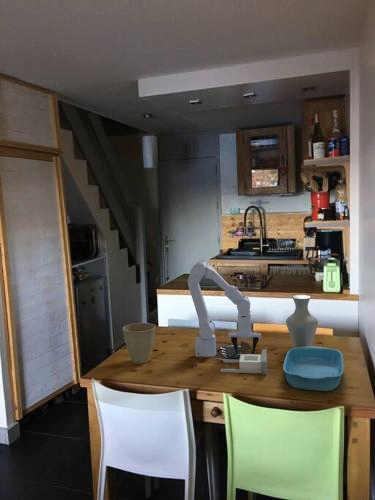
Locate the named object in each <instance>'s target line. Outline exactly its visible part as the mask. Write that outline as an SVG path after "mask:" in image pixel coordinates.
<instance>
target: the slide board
mask: <svg viewBox="0 0 375 500" xmlns="http://www.w3.org/2000/svg"><path fill="white" fill-rule="evenodd" d="M239 361H240V359H230V358H229V359H227V358H225V359H223V362H222V363H226V364H227V363H231V364H235V363H236V364H239ZM220 373H239V374H240V373H243V374H247V373H248V374H262V370H250V369H240V368H238V369H237V368H220Z"/></svg>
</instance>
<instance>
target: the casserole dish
mask: <svg viewBox="0 0 375 500" xmlns="http://www.w3.org/2000/svg"><path fill="white" fill-rule="evenodd" d="M344 366H345V365H344V355H343V353H342V352H341V351H340V350H338V349H334V348H328V347H324V346H314V345H313V346H312V345H311V346H306V347H292V348H289V350H288V351H287V353H286V355H285V358H284V361H283V365H282V369H283V372H284V375H285V379H286V381H287V383H288V384H289V385H290V386H291V387H293V388H295V389H300V390H307V391H309V390H310V391H318V392H330V391H334V389H336V388H337V387H339V385H340V383H341V379H342V377H343V373H344Z"/></svg>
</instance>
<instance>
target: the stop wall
mask: <svg viewBox="0 0 375 500" xmlns="http://www.w3.org/2000/svg"><path fill="white" fill-rule="evenodd" d="M267 353H268V350H267V349H266V348H264V349H261V355H262V359H261V368H262V373H261V375H262V376H266V375H268V373H267V372H268V354H267Z"/></svg>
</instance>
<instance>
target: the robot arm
mask: <svg viewBox="0 0 375 500" xmlns="http://www.w3.org/2000/svg"><path fill="white" fill-rule="evenodd" d="M189 272H190V273H189V276H188V279H187V285H188V289H189V292H190V296H191V300H192V302H193V304H194V308H195V312H196V315H197V318H198V327H199V331H198V332H199V333H198V334H199V336H197V337H195V342H194V345H195V346H194V349H195V350H194V351H195V357H203V358H204V357H205V358H210V357H215V356H216V355H217V344H216V343H217V341H216V340H217V339H216V336H217V335H216V334H215V333H214V332H215V330H216V325H215V323H214V322H213V320H212V318H211V316H210V315H209V312H208V309H207V306H206V302H205V299H204V296H203V293H202V292H203V291H202V289H201V285H200V282H201V280H202V279H203V277H204V278H205V279H210V280H212V281H213V282H215V283H216V284H217V286H219V287H220V288H221V289H222V290H224V296H226V297H227V298H228V299H229V300H230V301H231V303H233V304H234V305H235V306H236V309H237V311H238V312H237V313H238V314H237V326H238V327H237V329H238V330H237V331H238V332H229V333H228V339H230V341H231V344H232V345H233V347H234V350H235V354H236V355H239V354H238V353H239V349H238V346H239V345H238V339H252V354H255V351H256V347H257V345H258V343H259V339H260V340H261V339H262V333H259V332H252V325H251V324H252V318H251V300H250V299H249V297H248V296H246V295H245V294H243V293H242V292H241V291H240V290H239V287H237V286H235V285H231V284H229V283H228V282H227V281H226V280H225V279H224V278H223V276H221V275H220V274H219V273H218V272H217V270H216V269H215V268H214V267H213V266H211V265H210V264H209V263H208V262H207V261H205V260H199V261H197V262H196V263H195V264H194V265H193V266H192V268H191V269H190V271H189Z"/></svg>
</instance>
